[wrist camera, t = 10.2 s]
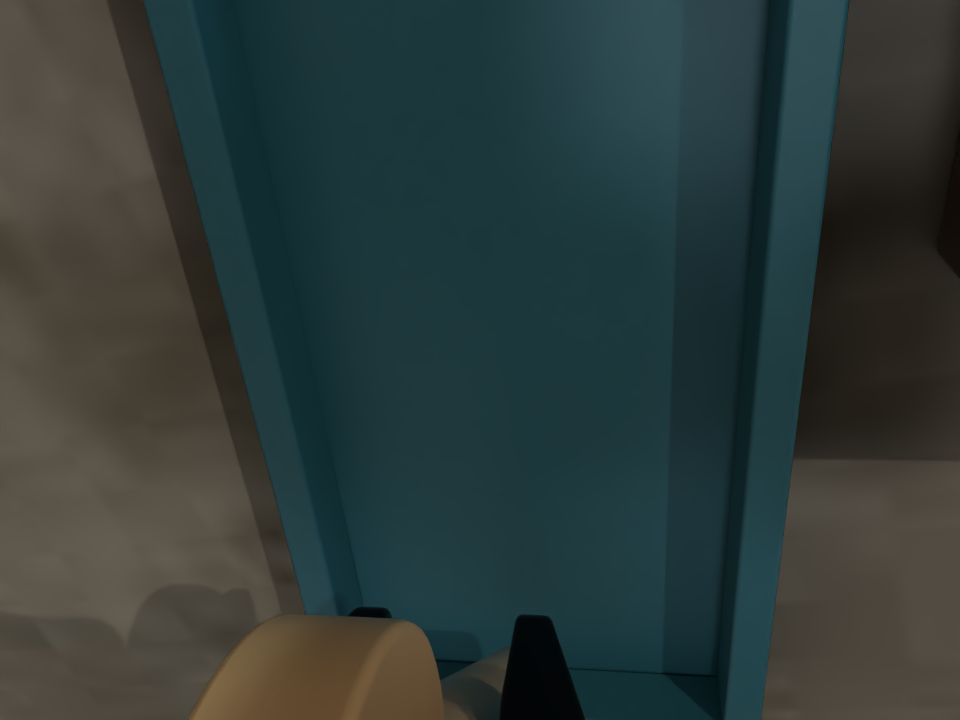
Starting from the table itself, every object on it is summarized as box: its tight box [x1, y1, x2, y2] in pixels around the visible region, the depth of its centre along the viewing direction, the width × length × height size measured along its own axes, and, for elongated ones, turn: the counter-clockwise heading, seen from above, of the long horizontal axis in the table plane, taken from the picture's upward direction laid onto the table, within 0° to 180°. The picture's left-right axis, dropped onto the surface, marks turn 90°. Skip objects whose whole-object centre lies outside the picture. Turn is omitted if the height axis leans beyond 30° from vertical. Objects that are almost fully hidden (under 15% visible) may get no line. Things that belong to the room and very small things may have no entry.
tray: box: [143, 0, 849, 720], centre depth 16 cm, size 20×10×2 cm, turn 5°
